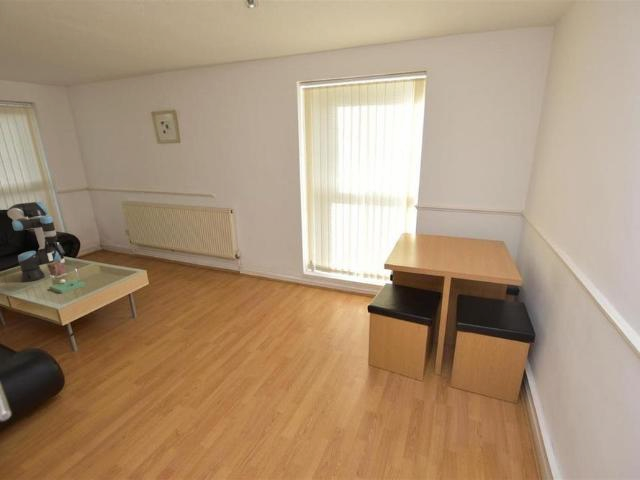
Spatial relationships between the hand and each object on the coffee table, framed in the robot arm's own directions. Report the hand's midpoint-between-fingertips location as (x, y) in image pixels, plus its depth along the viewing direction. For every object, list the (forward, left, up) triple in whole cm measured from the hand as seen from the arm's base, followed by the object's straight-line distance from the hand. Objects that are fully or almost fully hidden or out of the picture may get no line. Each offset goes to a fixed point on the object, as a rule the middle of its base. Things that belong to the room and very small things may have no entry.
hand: (57, 261), depth 249 cm
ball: (+6, -2, -15) cm, 17 cm away
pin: (+18, +4, -17) cm, 25 cm away
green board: (+12, -2, -19) cm, 23 cm away
